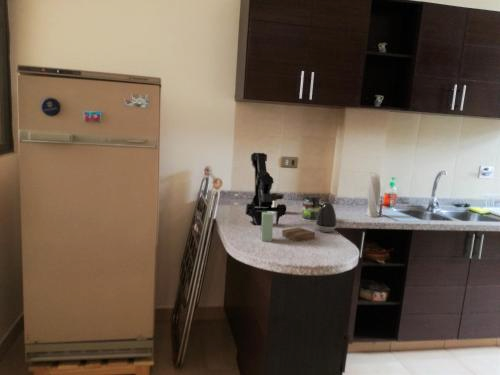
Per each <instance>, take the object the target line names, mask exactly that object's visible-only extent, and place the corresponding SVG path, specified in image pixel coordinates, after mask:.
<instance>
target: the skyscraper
mask: <svg viewBox="0 0 500 375" xmlns="http://www.w3.org/2000/svg"><path fill="white" fill-rule="evenodd" d="M369 175H370V178H369V179H370V180H369V182H368V187H367V202H368V207H367V210H366V214H365V216H366V217H369V218H374V219H377V218H382V213H383V210H382V209H383V204H382V203H383V198H382V197H381V199H380V196H381V180H380V179H381V175H380V174H378V173H376V172H373V174H372V173H369ZM379 200H380V204H379V211H378V203H379Z"/></svg>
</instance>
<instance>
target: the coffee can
mask: <svg viewBox="0 0 500 375" xmlns="http://www.w3.org/2000/svg"><path fill="white" fill-rule="evenodd" d="M302 197H303V199H302V201H303V202H302V212H301V213H302V215H301V220H303V221H305V222H316V221H317V216H318V213H319V210H320V208H321V207H320V206H318V205H317V204H321V201H322V200H321V198H322V196H321V195H317V194H303V195H302Z"/></svg>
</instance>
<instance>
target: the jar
mask: <svg viewBox="0 0 500 375" xmlns="http://www.w3.org/2000/svg"><path fill="white" fill-rule="evenodd" d="M275 193H276V195H277V200H276V201H272V202H273V205H272V207H277V205H278V204H285V203H284V202H285V201H284V200H285V198H284V194H283V193H277V192H275ZM270 194H273V193H271V192H270ZM272 214H273V215H276V212H272Z"/></svg>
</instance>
